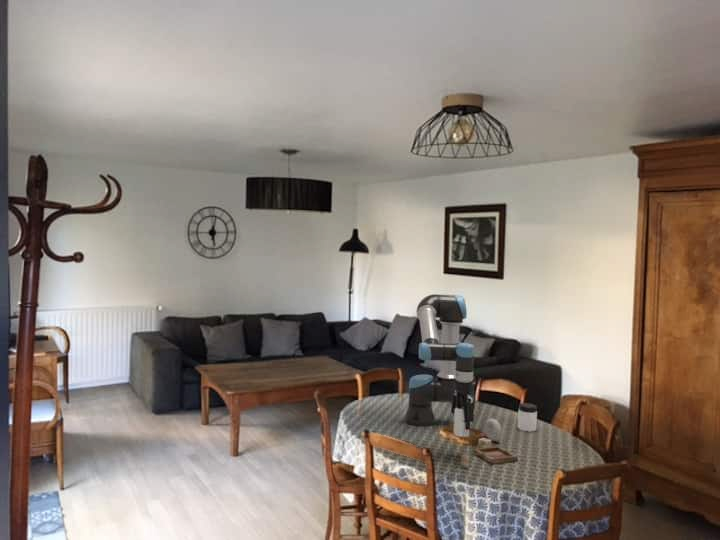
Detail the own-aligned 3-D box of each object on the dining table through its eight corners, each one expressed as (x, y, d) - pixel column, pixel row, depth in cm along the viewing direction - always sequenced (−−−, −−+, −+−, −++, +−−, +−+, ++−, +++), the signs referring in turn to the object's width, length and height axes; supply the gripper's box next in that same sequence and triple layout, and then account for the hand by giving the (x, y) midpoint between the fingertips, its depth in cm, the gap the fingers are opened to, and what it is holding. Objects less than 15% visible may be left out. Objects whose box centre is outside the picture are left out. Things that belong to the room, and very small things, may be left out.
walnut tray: (473, 453, 242) (473, 449, 242) (498, 450, 247) (498, 446, 247) (491, 464, 230) (491, 459, 230) (517, 461, 235) (517, 456, 235)
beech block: (478, 448, 249) (478, 439, 249) (483, 446, 252) (483, 437, 251) (485, 451, 246) (486, 442, 246) (491, 449, 249) (491, 440, 248)
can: (451, 432, 243) (453, 404, 242) (466, 432, 243) (467, 404, 242) (455, 437, 236) (456, 409, 235) (470, 437, 237) (472, 409, 236)
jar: (527, 433, 273) (528, 408, 272) (514, 428, 280) (515, 404, 279) (539, 430, 278) (540, 406, 277) (526, 425, 285) (527, 402, 284)
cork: (459, 465, 228) (459, 454, 228) (466, 464, 229) (466, 453, 229) (463, 468, 225) (464, 457, 225) (470, 467, 226) (471, 456, 226)
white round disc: (502, 443, 256) (503, 421, 256) (496, 444, 255) (497, 422, 254) (488, 436, 265) (489, 415, 265) (482, 437, 264) (483, 416, 263)
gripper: (444, 375, 246) (441, 427, 247) (469, 386, 228) (466, 442, 229) (458, 374, 249) (456, 425, 250) (484, 385, 231) (481, 440, 232)
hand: (461, 433), depth 240 cm, fingers closed on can, 6 cm apart
